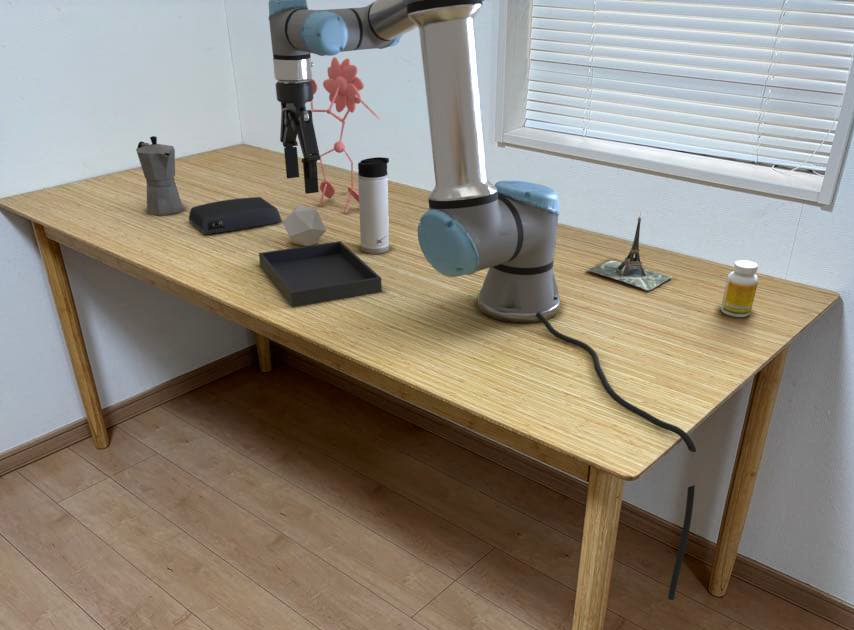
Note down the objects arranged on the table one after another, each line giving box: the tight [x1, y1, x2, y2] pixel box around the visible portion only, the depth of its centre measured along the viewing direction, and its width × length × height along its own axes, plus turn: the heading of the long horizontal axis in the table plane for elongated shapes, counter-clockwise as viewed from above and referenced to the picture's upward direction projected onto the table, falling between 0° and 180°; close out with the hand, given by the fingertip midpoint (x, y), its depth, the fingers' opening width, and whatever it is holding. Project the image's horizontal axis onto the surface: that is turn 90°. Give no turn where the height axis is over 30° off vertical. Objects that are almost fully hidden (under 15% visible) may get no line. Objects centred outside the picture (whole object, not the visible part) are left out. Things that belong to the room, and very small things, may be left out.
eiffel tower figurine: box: [587, 211, 674, 292], centre depth 162 cm, size 15×10×13 cm
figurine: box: [309, 56, 380, 219], centre depth 198 cm, size 15×26×35 cm, turn 50°
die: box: [281, 204, 327, 247], centre depth 179 cm, size 8×9×10 cm
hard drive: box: [188, 196, 283, 235], centre depth 192 cm, size 13×19×4 cm
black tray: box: [258, 240, 383, 308], centre depth 162 cm, size 23×18×3 cm
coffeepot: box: [135, 135, 184, 216], centre depth 197 cm, size 15×9×18 cm, turn 44°
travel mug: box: [357, 156, 390, 255], centre depth 173 cm, size 6×7×20 cm
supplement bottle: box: [720, 259, 759, 318], centre depth 148 cm, size 5×5×10 cm
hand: (302, 185), depth 174 cm, fingers open, 13 cm apart
